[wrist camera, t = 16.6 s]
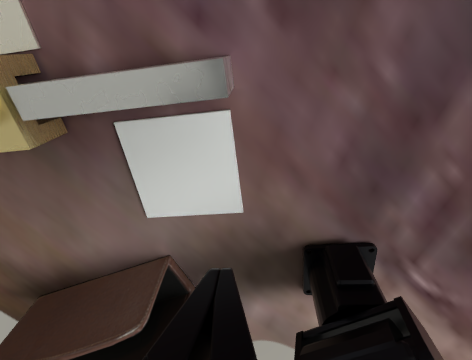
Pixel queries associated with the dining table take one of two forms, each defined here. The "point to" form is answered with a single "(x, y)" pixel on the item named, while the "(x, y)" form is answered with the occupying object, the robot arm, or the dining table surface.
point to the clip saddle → (8, 118)
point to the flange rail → (108, 79)
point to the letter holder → (102, 316)
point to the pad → (183, 163)
